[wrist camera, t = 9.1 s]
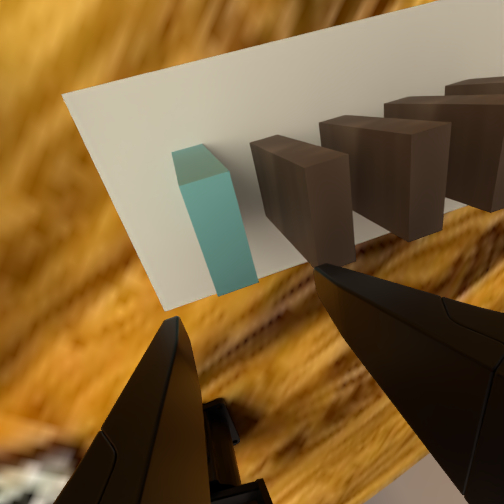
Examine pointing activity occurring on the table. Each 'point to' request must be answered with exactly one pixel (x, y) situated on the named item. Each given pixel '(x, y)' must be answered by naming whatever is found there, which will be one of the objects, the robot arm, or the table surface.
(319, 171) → the domino
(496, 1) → the mat
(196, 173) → the domino
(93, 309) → the table surface
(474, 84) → the domino
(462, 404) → the robot arm
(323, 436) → the table surface
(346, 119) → the domino
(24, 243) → the table surface
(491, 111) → the domino
